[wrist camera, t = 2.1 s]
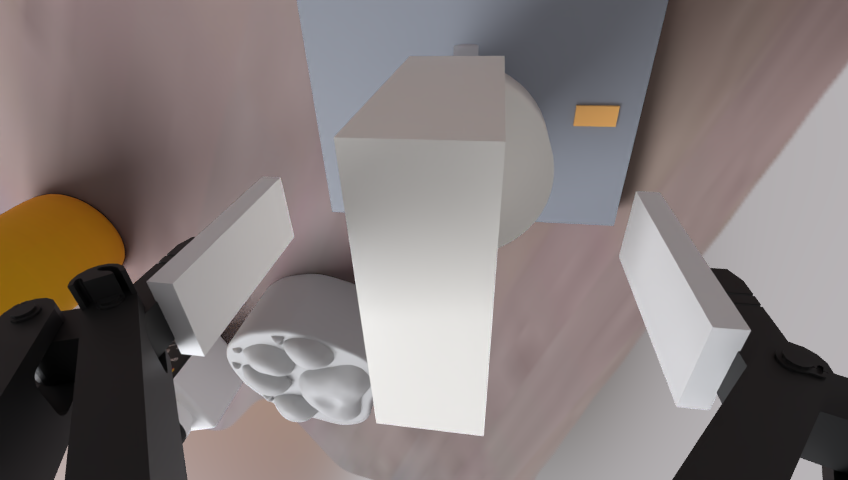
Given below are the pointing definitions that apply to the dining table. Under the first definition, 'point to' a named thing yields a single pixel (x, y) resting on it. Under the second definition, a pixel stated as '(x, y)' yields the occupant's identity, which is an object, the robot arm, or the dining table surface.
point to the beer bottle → (52, 248)
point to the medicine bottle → (202, 386)
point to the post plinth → (524, 61)
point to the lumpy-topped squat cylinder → (306, 350)
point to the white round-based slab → (438, 228)
